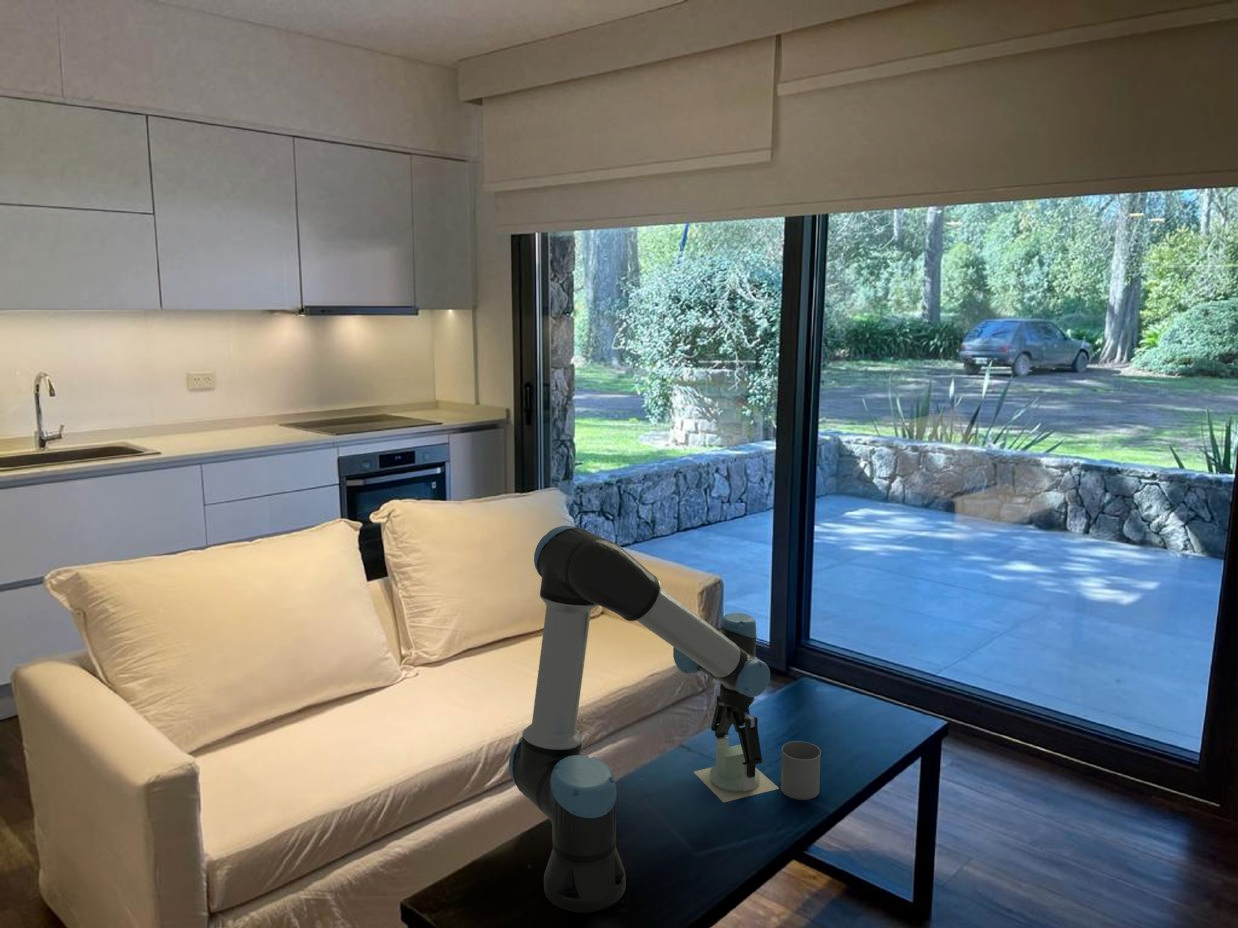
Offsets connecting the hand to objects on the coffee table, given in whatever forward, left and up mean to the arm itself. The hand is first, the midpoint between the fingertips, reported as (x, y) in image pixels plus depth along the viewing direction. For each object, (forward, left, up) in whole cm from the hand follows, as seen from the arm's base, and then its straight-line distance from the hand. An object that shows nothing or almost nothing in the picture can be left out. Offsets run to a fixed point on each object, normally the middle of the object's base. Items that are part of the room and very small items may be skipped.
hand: (734, 776), depth 208 cm
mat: (0, 0, -2) cm, 2 cm away
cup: (+11, -9, -2) cm, 14 cm away
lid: (0, 0, 0) cm, 0 cm away
